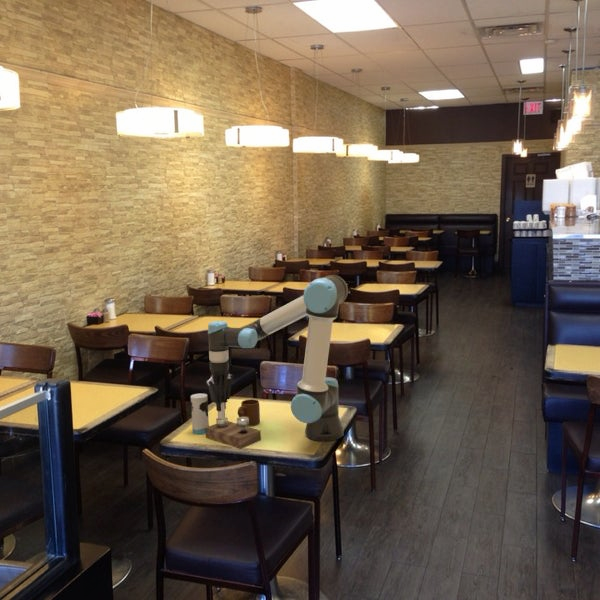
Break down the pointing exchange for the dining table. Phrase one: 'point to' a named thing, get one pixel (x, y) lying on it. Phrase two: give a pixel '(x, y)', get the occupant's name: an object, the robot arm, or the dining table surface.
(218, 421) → the far knob
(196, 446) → the dining table surface
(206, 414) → the cup
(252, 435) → the mount block
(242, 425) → the near knob
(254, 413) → the mug
